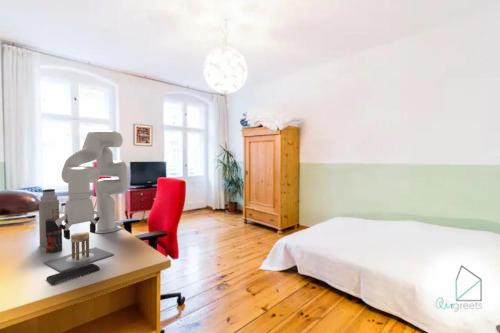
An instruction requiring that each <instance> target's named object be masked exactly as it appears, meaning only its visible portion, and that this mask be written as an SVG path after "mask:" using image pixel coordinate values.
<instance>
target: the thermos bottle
mask: <svg viewBox="0 0 500 333" xmlns="http://www.w3.org/2000/svg"><path fill="white" fill-rule="evenodd" d="M58 198H59V197H58V195H57V194H56V189H55V188H53V189H52V188H47V189H42V195H41V196H40V198H39V199H40V200H38V224H39V227H38V228H39V235H38V236H39V247H41V248H44V247H45V248H46V220H47V219H52V218H60V199H58Z"/></svg>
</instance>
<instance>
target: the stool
mask: <svg viewBox="0 0 500 333" xmlns="http://www.w3.org/2000/svg"><path fill="white" fill-rule="evenodd" d="M70 242H71V254H72V258H75V253H76V260H79V252H80V243H81V251H82V256H83V255H85V250H86V257H89V249H90V231H89V232H88V231H83V232H82V231H81V232H75V233H73V234H70Z"/></svg>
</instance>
